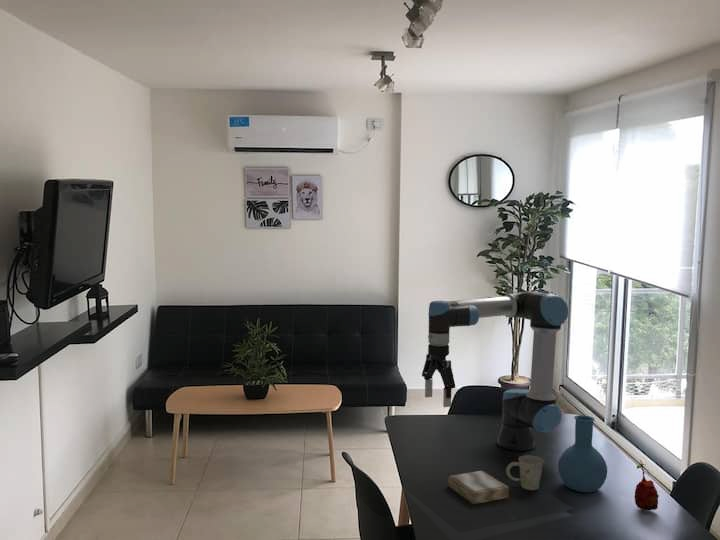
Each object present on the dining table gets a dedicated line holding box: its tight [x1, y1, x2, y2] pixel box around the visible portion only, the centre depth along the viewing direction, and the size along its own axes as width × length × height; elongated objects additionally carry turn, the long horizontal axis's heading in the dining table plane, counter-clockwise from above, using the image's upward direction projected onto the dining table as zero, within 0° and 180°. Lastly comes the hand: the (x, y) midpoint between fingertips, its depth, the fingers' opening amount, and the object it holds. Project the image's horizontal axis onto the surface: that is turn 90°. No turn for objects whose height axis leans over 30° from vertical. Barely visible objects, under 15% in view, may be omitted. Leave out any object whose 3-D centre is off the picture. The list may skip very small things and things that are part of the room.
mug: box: [505, 454, 544, 491], centre depth 231 cm, size 8×13×10 cm, turn 78°
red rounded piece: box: [634, 460, 660, 511], centre depth 215 cm, size 8×7×15 cm
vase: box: [557, 414, 608, 493], centre depth 230 cm, size 16×16×25 cm
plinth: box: [448, 470, 510, 505], centre depth 226 cm, size 14×16×4 cm
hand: (437, 401), depth 237 cm, fingers open, 13 cm apart
